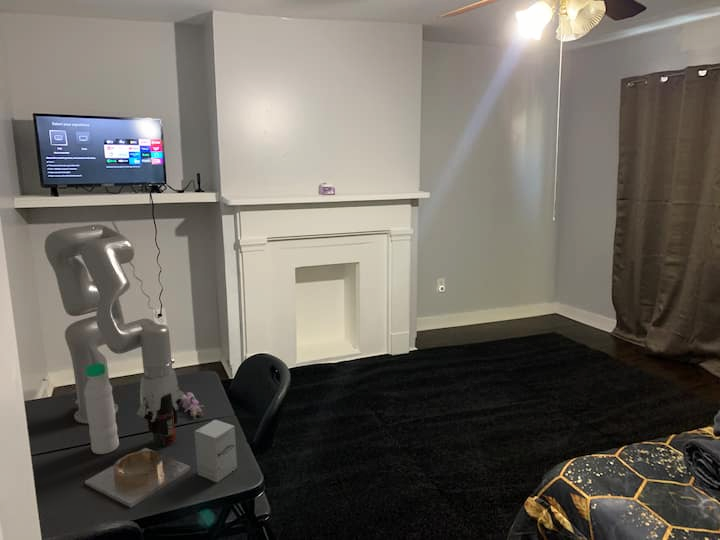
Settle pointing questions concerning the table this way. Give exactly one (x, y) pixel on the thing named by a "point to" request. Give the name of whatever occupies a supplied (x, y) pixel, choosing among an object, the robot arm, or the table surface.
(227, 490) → the table surface
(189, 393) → the pink plush toy
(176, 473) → the base
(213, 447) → the supplement box
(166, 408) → the deodorant
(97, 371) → the water bottle
